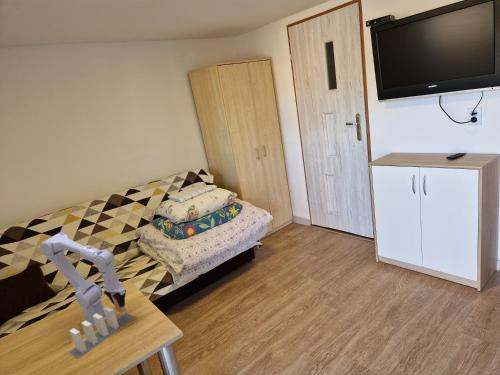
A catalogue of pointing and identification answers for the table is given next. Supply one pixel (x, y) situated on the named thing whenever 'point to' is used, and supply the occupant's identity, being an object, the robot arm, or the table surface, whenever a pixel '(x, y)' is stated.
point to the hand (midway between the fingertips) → (119, 304)
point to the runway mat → (121, 322)
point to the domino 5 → (118, 308)
